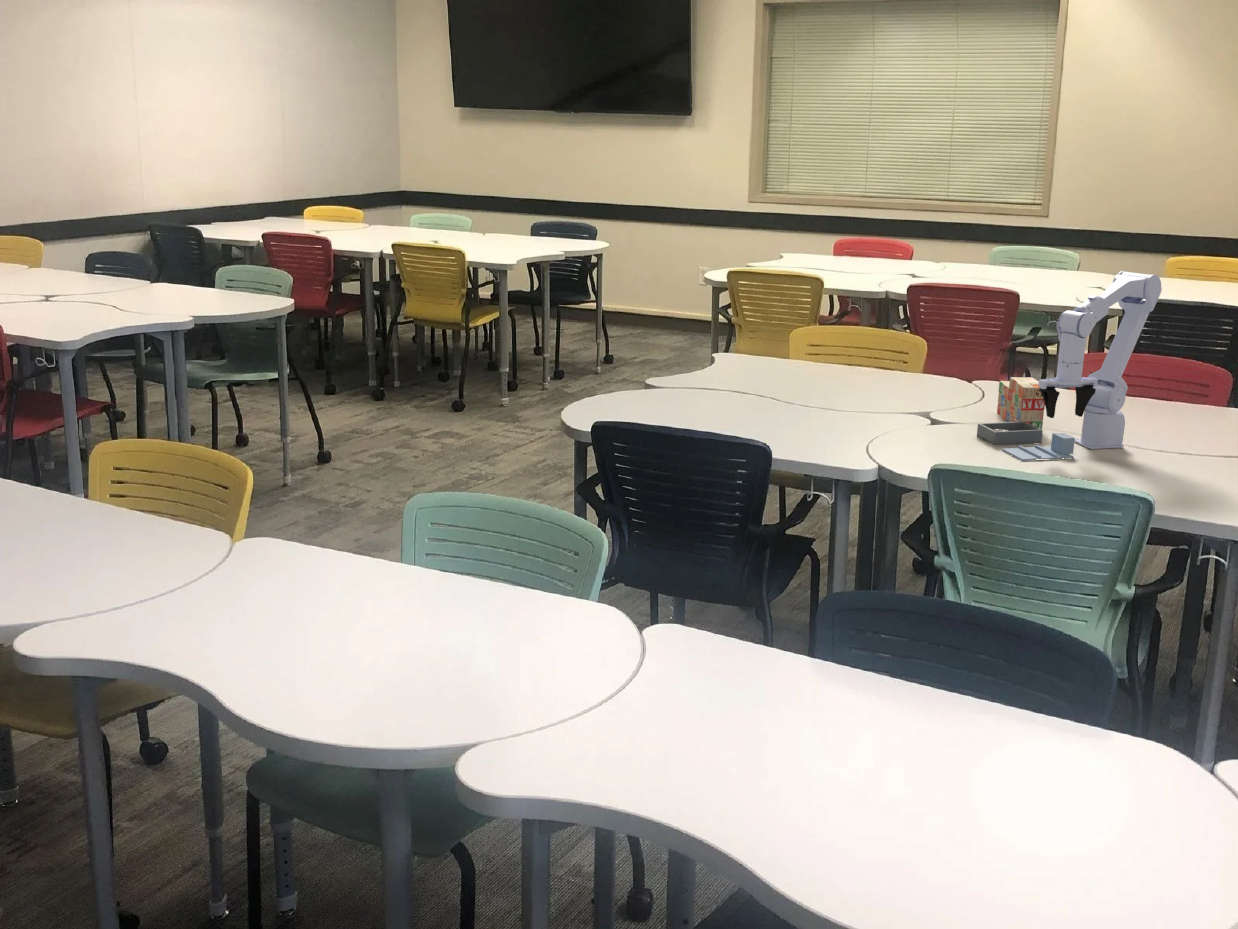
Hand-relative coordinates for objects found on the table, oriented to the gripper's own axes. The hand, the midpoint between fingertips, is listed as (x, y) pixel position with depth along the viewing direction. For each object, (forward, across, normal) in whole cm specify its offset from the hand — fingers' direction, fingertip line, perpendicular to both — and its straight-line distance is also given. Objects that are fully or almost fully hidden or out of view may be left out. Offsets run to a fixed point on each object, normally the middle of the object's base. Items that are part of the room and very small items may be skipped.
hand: (1064, 416), depth 291 cm
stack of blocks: (+10, -6, -31) cm, 33 cm away
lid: (+10, +6, 0) cm, 12 cm away
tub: (+9, +6, -14) cm, 18 cm away
